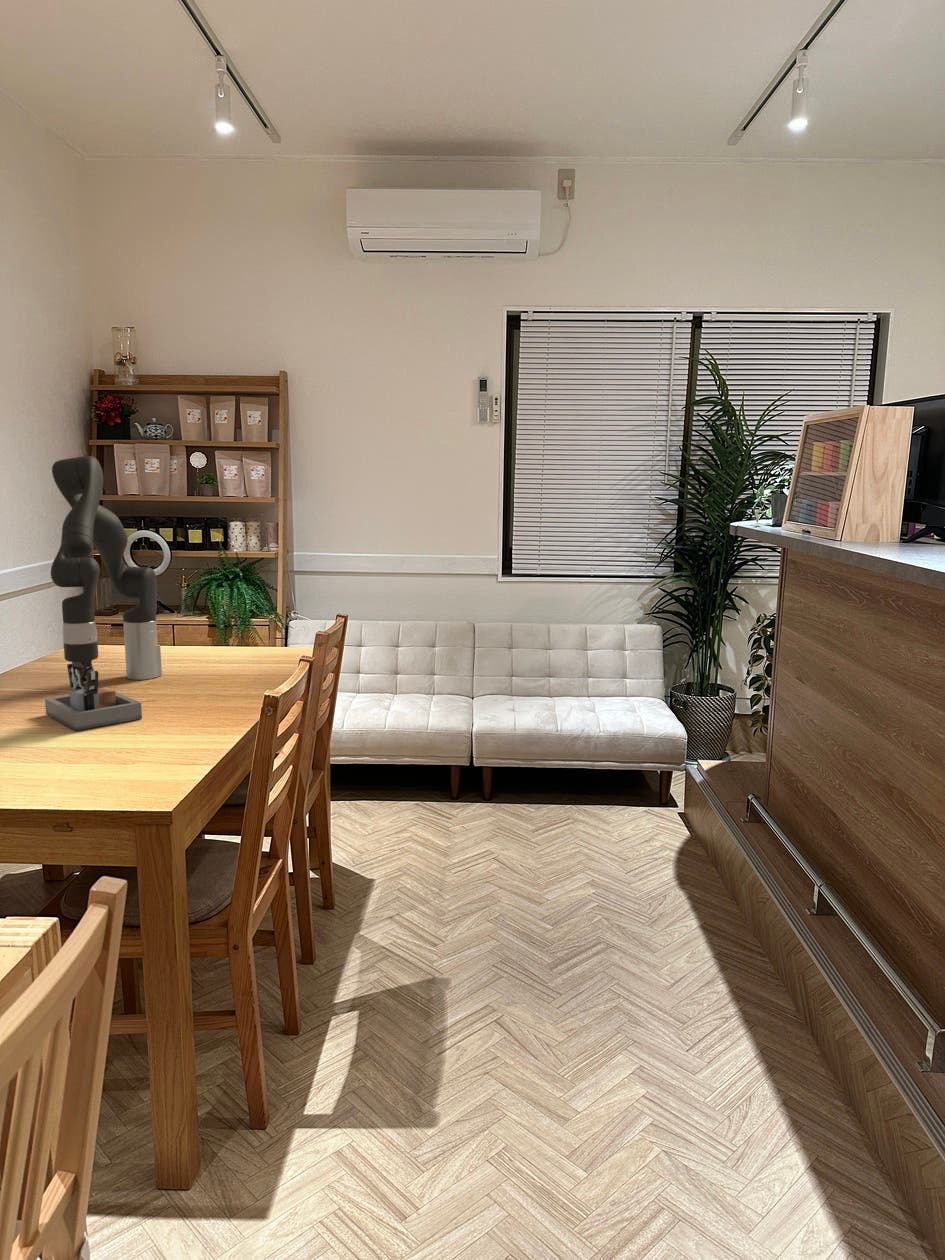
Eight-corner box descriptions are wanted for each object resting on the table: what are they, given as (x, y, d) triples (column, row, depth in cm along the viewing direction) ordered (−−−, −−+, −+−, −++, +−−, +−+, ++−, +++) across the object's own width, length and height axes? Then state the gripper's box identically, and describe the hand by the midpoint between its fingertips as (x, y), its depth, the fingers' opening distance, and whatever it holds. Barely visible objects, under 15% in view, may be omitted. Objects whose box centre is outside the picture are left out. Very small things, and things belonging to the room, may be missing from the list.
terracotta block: (108, 705, 222) (107, 687, 221) (116, 709, 218) (115, 690, 217) (88, 709, 218) (87, 690, 217) (96, 713, 215) (95, 693, 214)
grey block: (91, 706, 214) (90, 687, 213) (99, 710, 210) (98, 691, 209) (71, 710, 210) (69, 690, 209) (78, 714, 207) (77, 694, 206)
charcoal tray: (109, 703, 227) (108, 688, 227) (142, 718, 213) (141, 702, 213) (46, 714, 216) (44, 698, 216) (75, 730, 202) (74, 714, 202)
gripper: (107, 642, 205) (112, 711, 208) (85, 634, 215) (89, 700, 218) (75, 646, 200) (80, 716, 202) (53, 637, 210) (58, 705, 213)
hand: (85, 707), depth 210 cm, fingers closed on grey block, 4 cm apart
